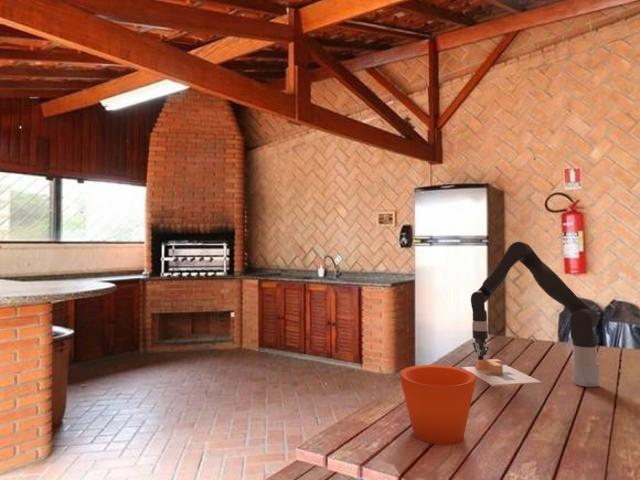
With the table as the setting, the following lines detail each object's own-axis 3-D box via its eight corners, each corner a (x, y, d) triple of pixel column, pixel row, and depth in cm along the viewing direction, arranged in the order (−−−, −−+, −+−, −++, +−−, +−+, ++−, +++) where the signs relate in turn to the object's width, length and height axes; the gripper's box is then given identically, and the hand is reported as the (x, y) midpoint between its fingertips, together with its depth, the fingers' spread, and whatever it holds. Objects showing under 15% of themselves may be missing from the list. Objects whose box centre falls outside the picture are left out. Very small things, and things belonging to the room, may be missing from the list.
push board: (541, 383, 204) (541, 381, 204) (491, 386, 201) (491, 384, 201) (505, 365, 233) (505, 364, 234) (461, 368, 230) (461, 367, 230)
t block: (510, 373, 218) (510, 365, 218) (487, 374, 216) (486, 366, 216) (497, 366, 230) (497, 359, 230) (475, 368, 228) (475, 360, 228)
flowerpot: (421, 414, 168) (420, 361, 168) (489, 431, 152) (487, 372, 152) (386, 437, 149) (385, 377, 149) (459, 459, 133) (458, 391, 133)
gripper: (493, 331, 229) (494, 365, 229) (480, 326, 242) (481, 359, 242) (479, 331, 228) (480, 366, 228) (467, 327, 241) (468, 359, 241)
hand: (480, 362), depth 235 cm, fingers closed
